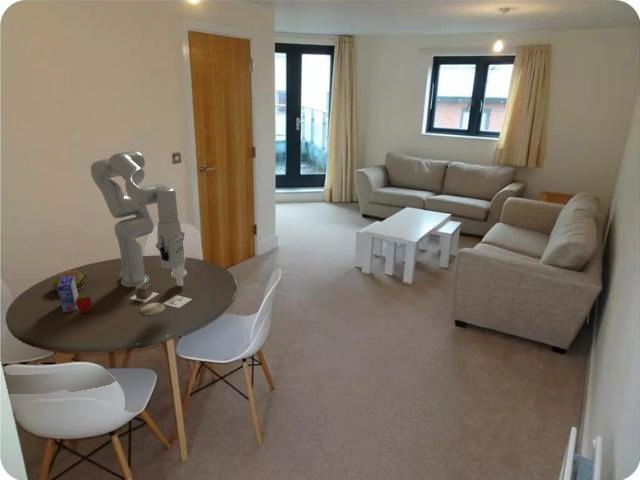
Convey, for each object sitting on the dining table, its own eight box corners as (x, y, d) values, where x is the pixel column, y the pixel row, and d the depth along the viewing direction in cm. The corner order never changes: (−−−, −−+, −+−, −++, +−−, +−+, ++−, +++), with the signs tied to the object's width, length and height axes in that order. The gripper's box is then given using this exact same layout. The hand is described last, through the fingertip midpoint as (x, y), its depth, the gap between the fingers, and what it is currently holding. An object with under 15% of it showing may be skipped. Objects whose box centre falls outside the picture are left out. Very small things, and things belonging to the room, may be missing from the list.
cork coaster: (135, 312, 184) (134, 311, 184) (151, 302, 193) (151, 301, 193) (153, 317, 181) (153, 316, 180) (170, 306, 189) (169, 305, 189)
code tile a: (162, 304, 191) (162, 303, 191) (176, 295, 199) (176, 295, 199) (179, 308, 188) (179, 307, 188) (192, 299, 196) (192, 298, 196)
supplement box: (176, 269, 183) (174, 241, 179) (160, 267, 185) (157, 239, 180) (185, 262, 190) (182, 235, 186) (169, 260, 192) (167, 233, 187)
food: (46, 294, 198) (43, 279, 195) (65, 281, 211) (62, 266, 208) (75, 296, 197) (72, 280, 194) (93, 282, 210) (90, 267, 207)
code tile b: (129, 298, 196) (129, 298, 195) (144, 290, 203) (144, 289, 203) (145, 302, 192) (145, 302, 192) (159, 294, 200) (159, 293, 200)
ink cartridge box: (65, 302, 192) (59, 272, 187) (79, 300, 193) (73, 270, 188) (62, 312, 183) (55, 281, 178) (76, 310, 185) (70, 279, 180)
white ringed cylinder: (182, 289, 205) (179, 260, 200) (169, 286, 207) (166, 257, 202) (190, 283, 211) (188, 254, 206) (178, 280, 213) (175, 252, 208)
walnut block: (136, 298, 196) (135, 288, 194) (142, 293, 200) (140, 283, 199) (146, 298, 195) (145, 288, 193) (152, 293, 200) (151, 284, 198)
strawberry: (77, 319, 178) (73, 297, 175) (77, 311, 184) (73, 290, 181) (94, 316, 181) (90, 294, 177) (93, 308, 187) (89, 287, 184)
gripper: (175, 211, 189) (178, 248, 195) (146, 222, 174) (151, 262, 180) (189, 213, 186) (192, 251, 192) (161, 225, 171) (165, 265, 177)
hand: (172, 256), depth 186 cm, fingers closed on supplement box, 8 cm apart
